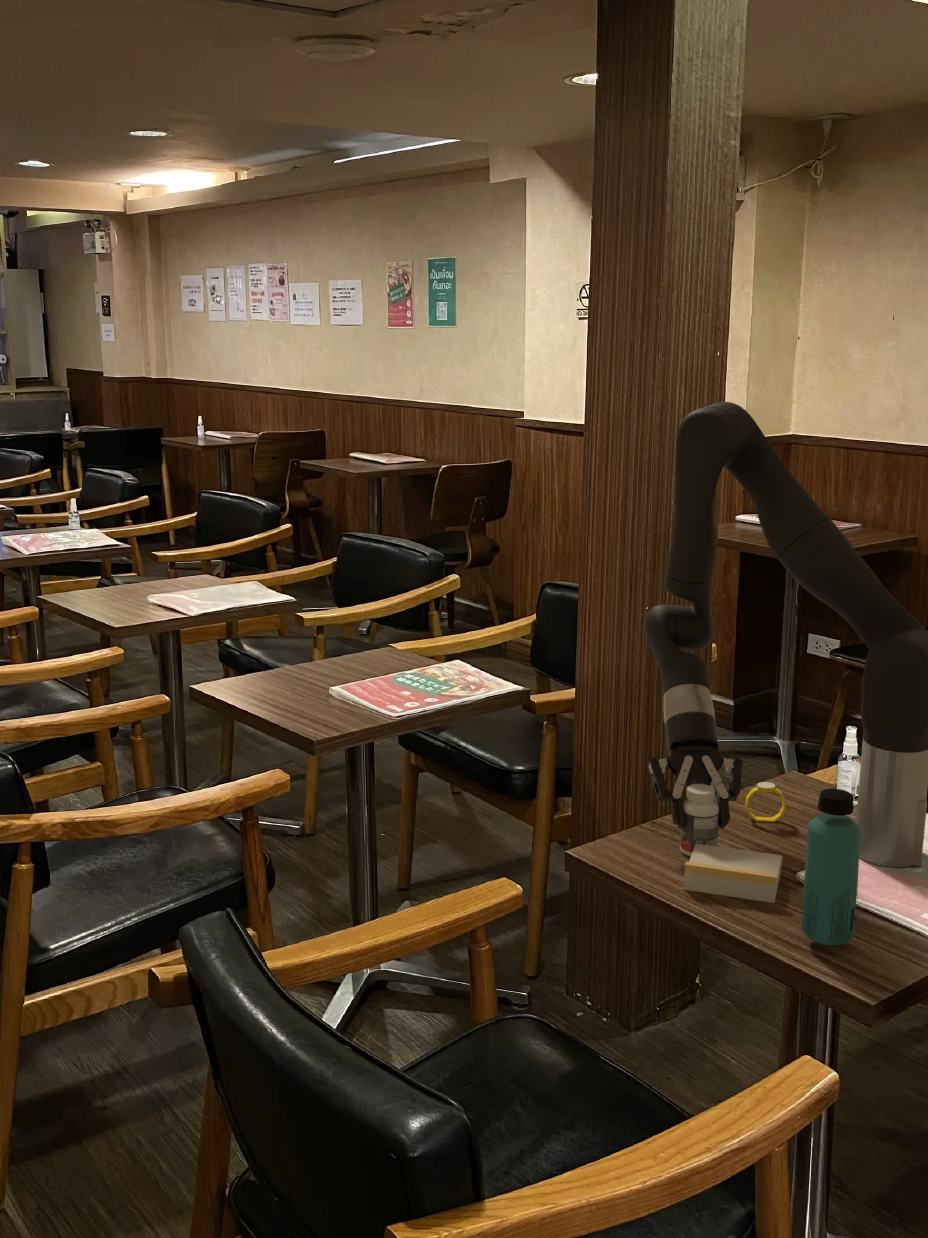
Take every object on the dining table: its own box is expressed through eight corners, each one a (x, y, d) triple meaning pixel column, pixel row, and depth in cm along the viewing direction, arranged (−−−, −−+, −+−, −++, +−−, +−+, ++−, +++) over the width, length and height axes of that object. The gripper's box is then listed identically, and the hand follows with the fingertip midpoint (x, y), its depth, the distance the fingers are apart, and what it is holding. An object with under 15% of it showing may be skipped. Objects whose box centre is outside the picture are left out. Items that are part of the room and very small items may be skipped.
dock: (780, 872, 168) (782, 847, 167) (774, 903, 159) (776, 877, 158) (695, 859, 172) (696, 835, 171) (683, 889, 163) (685, 864, 162)
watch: (746, 825, 185) (746, 788, 183) (744, 817, 187) (744, 782, 186) (786, 824, 184) (786, 787, 183) (784, 817, 187) (783, 781, 185)
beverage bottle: (856, 960, 145) (869, 805, 140) (799, 954, 146) (811, 800, 141) (850, 934, 151) (863, 785, 146) (796, 928, 152) (807, 780, 147)
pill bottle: (675, 844, 177) (677, 782, 175) (710, 843, 177) (713, 781, 175) (685, 860, 172) (688, 796, 169) (721, 858, 172) (725, 795, 170)
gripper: (645, 709, 177) (656, 817, 168) (742, 709, 177) (758, 816, 169) (639, 732, 184) (648, 836, 175) (732, 731, 184) (746, 836, 175)
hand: (702, 826), depth 172 cm, fingers closed on pill bottle, 5 cm apart
